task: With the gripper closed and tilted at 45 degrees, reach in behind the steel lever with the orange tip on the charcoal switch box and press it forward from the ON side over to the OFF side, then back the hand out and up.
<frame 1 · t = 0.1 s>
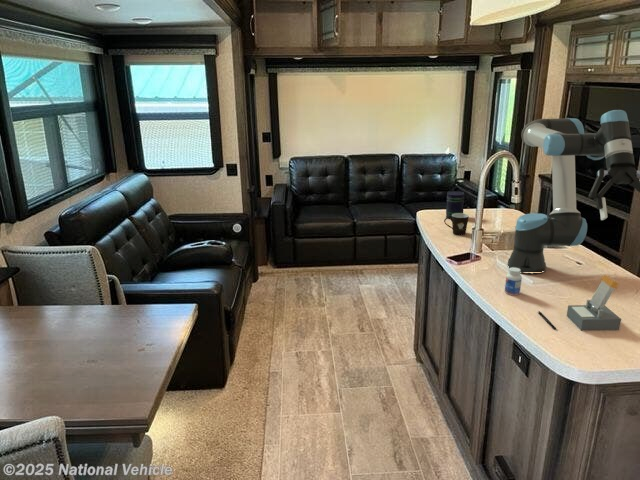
hand: (627, 219, 143), 36 cm above the table, tool tilted 35°, fingers open, 13 cm apart
storage jar: (454, 217, 277), on the table
pill bottle: (512, 293, 179), on the table
switch box: (591, 322, 155), on the table
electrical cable: (546, 321, 158), on the table
coffee mug: (456, 233, 250), on the table
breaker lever: (602, 294, 152), point 10 cm above the table, hinge at -20.0°
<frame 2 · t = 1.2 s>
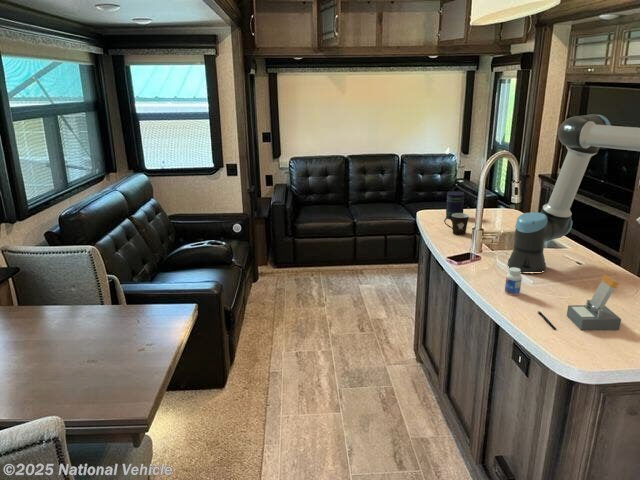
nothing on the table moved.
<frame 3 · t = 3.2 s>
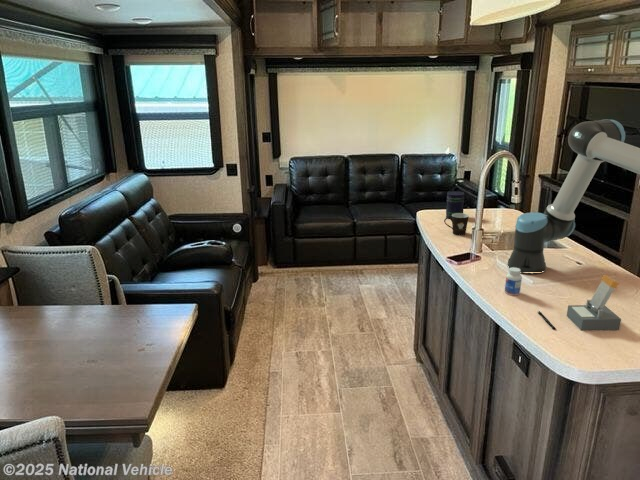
nothing on the table moved.
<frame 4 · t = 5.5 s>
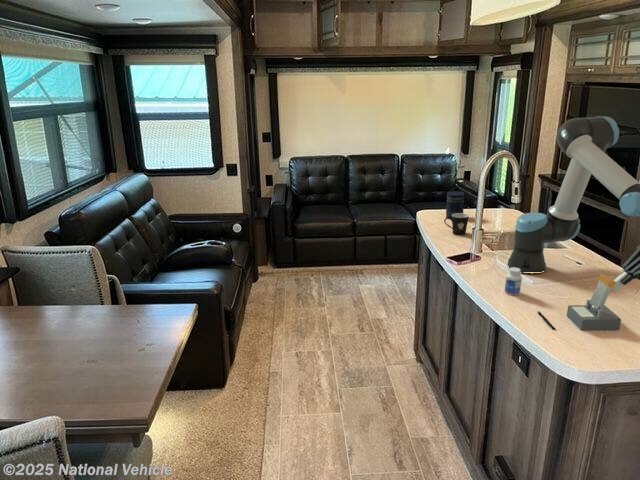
hand: (611, 288, 151), 13 cm above the table, tool tilted 45°, fingers closed
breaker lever: (600, 294, 152), point 10 cm above the table, hinge at -14.1°, touching gripper
everything else where it was.
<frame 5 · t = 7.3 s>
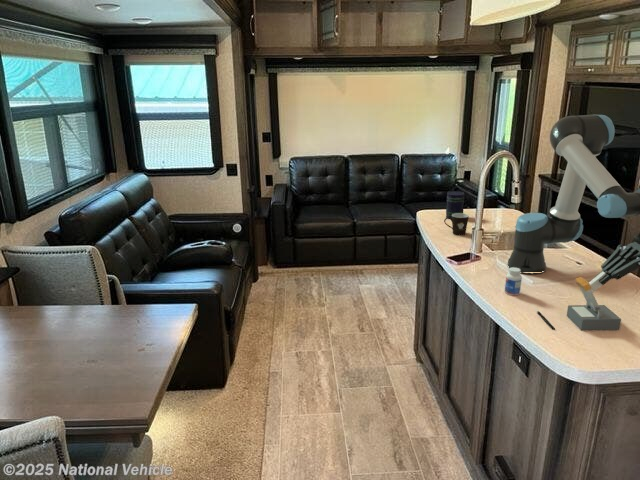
hand: (589, 288, 151), 13 cm above the table, tool tilted 45°, fingers closed
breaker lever: (588, 295, 152), point 10 cm above the table, hinge at 29.4°, touching gripper
everything else where it was.
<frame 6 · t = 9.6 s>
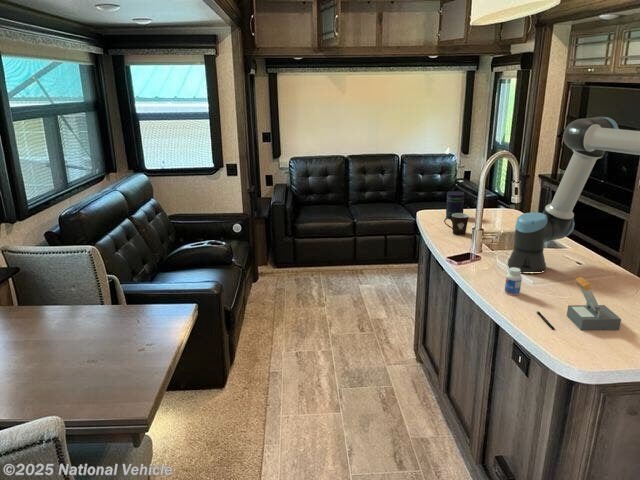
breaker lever: (588, 295, 152), point 10 cm above the table, hinge at 29.5°
everything else where it was.
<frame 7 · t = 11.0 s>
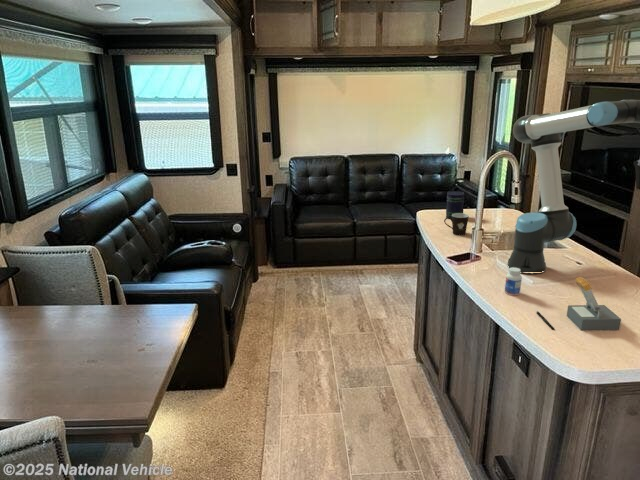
nothing on the table moved.
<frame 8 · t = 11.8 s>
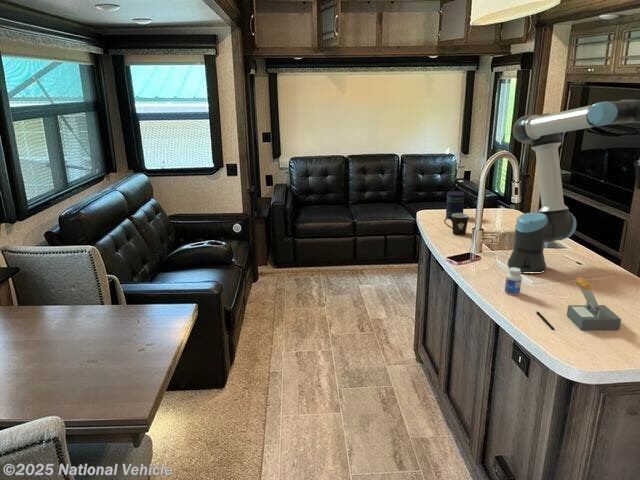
nothing on the table moved.
at the end: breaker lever at +30° (first picture: -20°) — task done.
